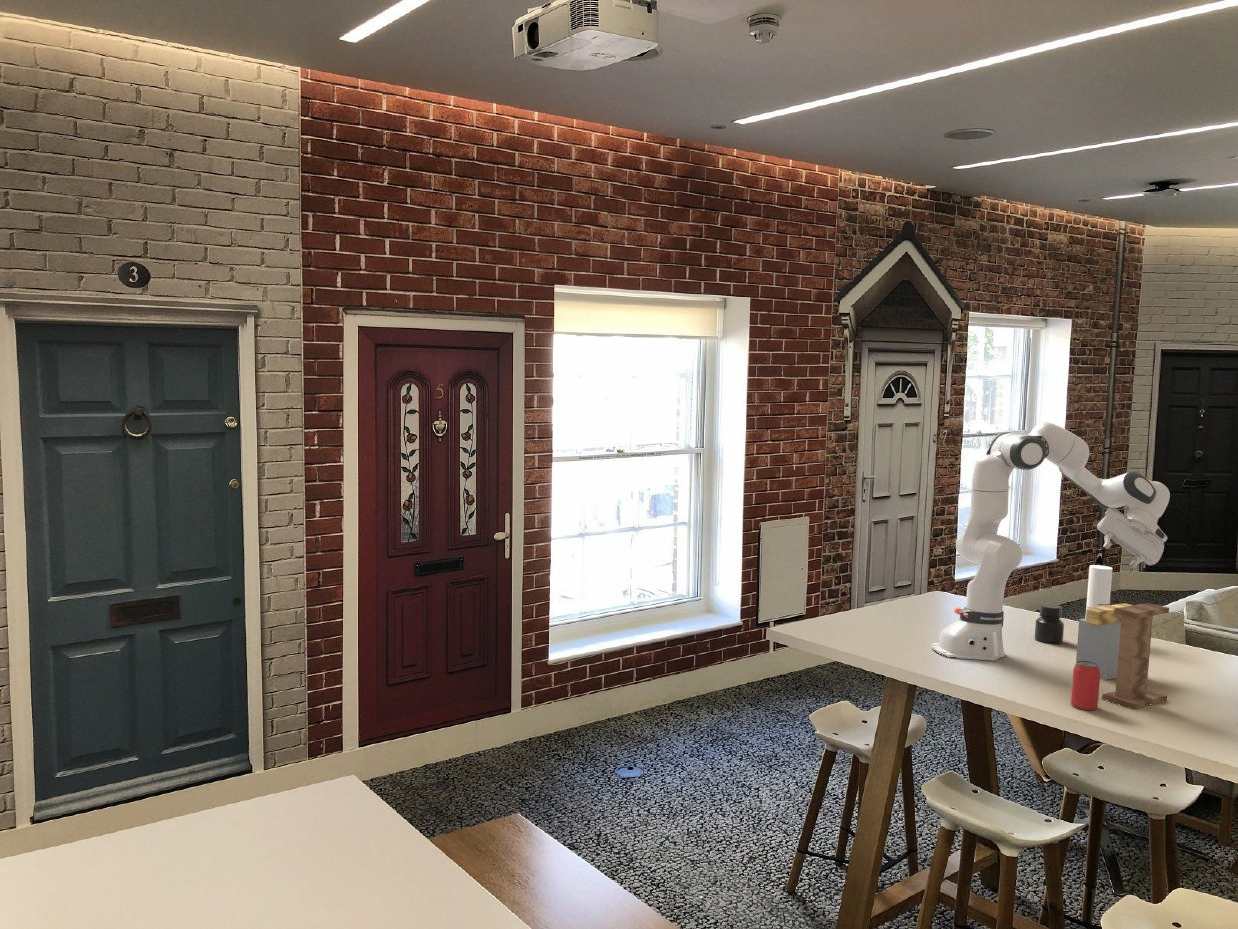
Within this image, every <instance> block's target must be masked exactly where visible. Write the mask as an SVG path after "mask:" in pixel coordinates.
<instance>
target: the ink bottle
mask: <svg viewBox="0 0 1238 929" xmlns="http://www.w3.org/2000/svg"><path fill="white" fill-rule="evenodd" d="M1062 610H1063V607H1062V606H1060V605H1059V604H1052V603H1050V604H1049V603H1041V604H1039V617H1038V618H1036V620H1035V625H1034V640H1036V641H1038V642H1041V641H1042V643H1045V642H1046V644H1062V643H1063V642H1064V633H1065V623H1064V621H1063V620H1061V618H1062V612H1063V611H1062Z"/></svg>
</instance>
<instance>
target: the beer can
mask: <svg viewBox="0 0 1238 929" xmlns="http://www.w3.org/2000/svg"><path fill="white" fill-rule="evenodd" d="M1098 666H1099V665H1098V664H1097V663H1094V662H1090V661H1077V662H1076V661H1075V664H1074V666H1073V671H1072V682H1071V683H1072V684H1071V696H1070V704H1071V706H1073V707H1075V708H1076V709H1080V710H1085V711H1094V710H1097V708H1098V706H1099V695H1100V682H1101V678H1100V670H1099V667H1098Z"/></svg>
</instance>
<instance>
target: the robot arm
mask: <svg viewBox="0 0 1238 929" xmlns="http://www.w3.org/2000/svg"><path fill="white" fill-rule="evenodd" d="M989 444H990V445H989V447H988V448H987V451H986V454H985V455H983V456H979V457H978V459H977V460H976V461H975V464H974V468H973V473H972V478H971V479H972V480H971V493H970V494H971V496H970V510H969V511H970V512H969V516H968V520H967V523H966V526H965V528H964V530H963V531H962V532H961V533H959V535H958V536H957V538H956V541H955V549H956V552H957V553H958V555H960V557H962V558H963V559H965V560H966V561H967V562H969V563H973V564H975V565H978V566H977V571H976V573H975V576H974V578H973V579H971V580H970V581H968V584H967V587H966V588H967V589H966V590H967V591H966V600H965V601H966V602H965V607H964V608H960V607H958V606H957V607H955V608H954V613H955V614H957V615H959V618H958V619H957V620H955V621H954V622H952V623H951V624H949V625H948V626H946V627H944V628H942V630H941V631H940V634H939V637H938V638H939V639H938V642H934V643H933V642H932V643H931V646H930V647H932V648H933V649H934V650H935V651H937V652H938V653H939V655H940V654H943V655H945V656H944V657H946V656H947V657H946V658H950V657H956V658H955V659H964V660H965V659H967V660H979V661H980V660H983V661H998V660H999V659H1000V657H1001V658H1003V657H1005V656H1006V653H1005V648H1004V644H1003V643H1004V641H1003V627H1004V618H1005V615H1004V614H1005V612H1004V610H1003V609H1004V597H1005V589H1006V585H1007V582H1008V579H1009V577H1010V575H1011V573H1012V572H1013V571H1014V570H1016V569H1017V568H1018V567H1019V566H1020V564H1021V563H1022V560H1023V550H1022V548H1021V546H1020V545H1019V544H1018V543H1017V542H1016V541H1014V540H1013V539H1011V538H1009V537H1007V536H1004V535H1001V534H998V529H999V527H1000V525H1001V522H1002V521H1003V520H1004V519H1005V518H1007V515H1008V513H1009V490H1010V489H1009V488H1010V484H1009V483H1010V482H1009V480H1010V477H1011V474H1012V472H1013V470H1014V469H1016V470H1022V471H1023V470H1024V471H1028V470H1032V469H1033V470H1034V469H1035V468H1037V467H1039V466H1040V465H1042V463H1043V462H1044V461H1045V459H1046V460H1047V461H1049V462H1050V463H1052V464H1053V465H1055V466H1057V467H1058V469H1059V471H1060V472H1061V474H1062V476H1064V477H1065V478H1066V479H1068V481H1070V482H1071V483H1072V484H1074V485H1075V486H1077V487H1078V489H1081V490H1082V492H1084V493H1086V494H1087V495H1088V496H1089V497H1090V498H1091V500H1093V502H1094V503H1095V504H1096V505H1097V506H1098V507H1099V508H1101V509H1102V510H1104V511H1105V512H1104V517H1103V518H1101V520H1100V521H1099V522H1098V524H1097V525H1096V528H1097V530H1098V531H1099V532H1100V533H1102V534H1103V535H1104V536H1103V538H1104V539H1103V540H1104V544H1103V546H1102V547H1103V548H1104V549H1106V550H1108V549H1110V548H1111V546H1112V545H1113V543H1112V542H1111V540H1112V541H1114V542H1115V543H1116V544H1117V545H1119V546H1120V547H1122V548H1123V549H1124V550H1126V551H1128V552H1129V553H1130V554H1132V555H1133V556H1135V558H1136V559H1133V560H1131V562H1130V563H1129V566H1131V568H1133V569H1134V568H1136V567H1137V566H1138V564H1140V563H1142V562H1144V563H1145V564H1146V565H1148V566H1154V565H1156V564H1157V563H1158V562H1159V561H1160V559H1161V558H1162V556H1163V552H1164V549H1165V542H1167V540H1168V536H1167V534H1165V532H1163V530H1162V529H1161V528H1160V526H1159V525H1158V521H1159V519H1160V518H1161V517H1162V516H1163V514H1164V512H1165V511H1166V509H1167V507H1168V504H1169V502H1170V497H1171V493H1170V490H1169V488H1168V487H1167V486H1166V485H1165V484H1163V483H1162V482H1160V481H1157V480H1156V481H1155V480H1153V481H1152V480H1150V479H1148V478H1146V477H1145V476H1144V475H1143V474H1141V473H1140V472H1137V471H1129V472H1125V473H1123V474H1119V475H1117V476H1114V477H1111V478H1099V477H1097V476H1096V475H1094V474H1093V473H1092V472H1091V471H1090V470H1088V469H1087V468H1086V467H1085V466H1087V462H1088V460H1089V458H1090V447H1089V445H1088V443H1087V442H1086V441H1085V440H1083V439H1082V438H1081V437H1080V436H1078V435H1076V434H1074V433H1073V432H1071V431H1069V430H1067V429H1066V428H1064V427H1062V426H1059V425H1057V424H1054V423H1051V422H1048V421H1043V422H1039V423H1038V424H1036V425H1034V427H1033V428H1032V429H1031V431H1030V432H1029V433H1028V434H1023V433H1021V432H1002V433H1000V434H998V435H996V436H995V437H994V438H992V440H991V442H990V443H989ZM1124 506H1128V507H1129V510H1128V512H1127V513H1126V515H1125V514H1124V513H1122V511H1119V510H1118V509H1120V508H1121V507H1124ZM932 648H931V649H932ZM934 650H933V651H934ZM935 651H934V652H935ZM938 653H937V654H938ZM943 655H942V656H943Z"/></svg>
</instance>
